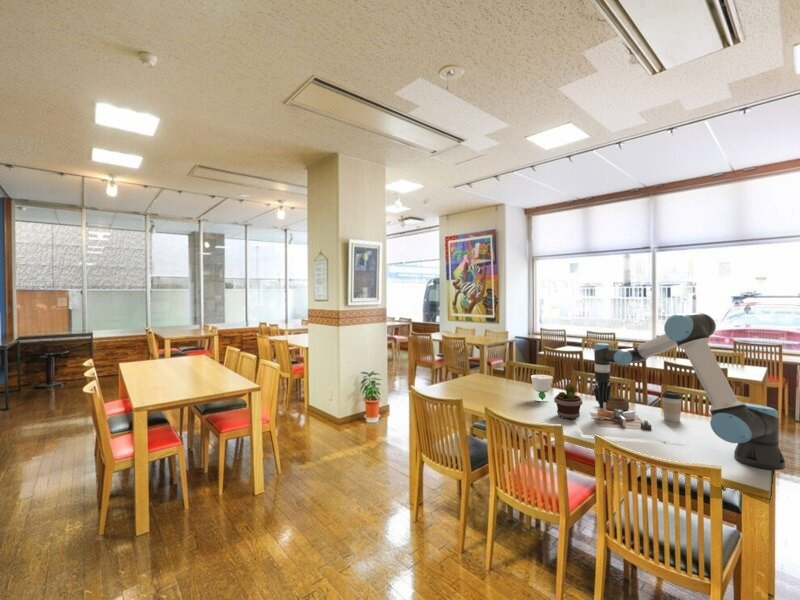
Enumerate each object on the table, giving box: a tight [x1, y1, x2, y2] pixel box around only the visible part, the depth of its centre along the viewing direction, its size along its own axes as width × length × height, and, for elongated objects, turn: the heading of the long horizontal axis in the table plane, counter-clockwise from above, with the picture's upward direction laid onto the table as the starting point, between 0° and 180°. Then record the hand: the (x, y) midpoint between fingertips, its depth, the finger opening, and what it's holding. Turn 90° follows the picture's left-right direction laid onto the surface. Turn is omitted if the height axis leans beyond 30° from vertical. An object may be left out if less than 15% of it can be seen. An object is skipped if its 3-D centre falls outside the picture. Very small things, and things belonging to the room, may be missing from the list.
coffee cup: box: [661, 390, 683, 423], centre depth 207 cm, size 9×9×15 cm
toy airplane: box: [589, 412, 652, 431], centre depth 203 cm, size 24×25×6 cm
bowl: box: [597, 395, 630, 413], centre depth 224 cm, size 18×14×10 cm
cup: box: [530, 374, 554, 400], centre depth 249 cm, size 14×14×16 cm
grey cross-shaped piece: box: [597, 408, 636, 426], centre depth 204 cm, size 16×18×6 cm
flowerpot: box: [553, 382, 583, 420], centre depth 215 cm, size 14×15×20 cm
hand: (602, 413), depth 210 cm, fingers closed
